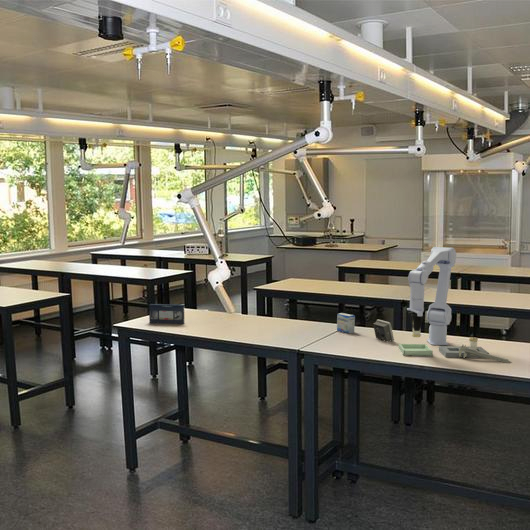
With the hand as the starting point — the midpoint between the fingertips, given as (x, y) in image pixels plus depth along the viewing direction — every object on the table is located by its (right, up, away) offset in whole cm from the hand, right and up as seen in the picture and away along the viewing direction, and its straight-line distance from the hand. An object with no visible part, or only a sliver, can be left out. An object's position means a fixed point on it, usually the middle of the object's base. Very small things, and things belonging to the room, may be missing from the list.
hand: (415, 329), depth 259 cm
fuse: (+24, -10, -2) cm, 26 cm away
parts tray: (0, -10, +1) cm, 10 cm away
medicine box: (-25, -5, +41) cm, 48 cm away
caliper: (+26, -12, -11) cm, 30 cm away
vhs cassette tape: (-116, -3, +58) cm, 130 cm away
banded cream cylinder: (0, -3, 0) cm, 3 cm away
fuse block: (+20, -10, -2) cm, 22 cm away
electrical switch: (-9, -8, +23) cm, 26 cm away
